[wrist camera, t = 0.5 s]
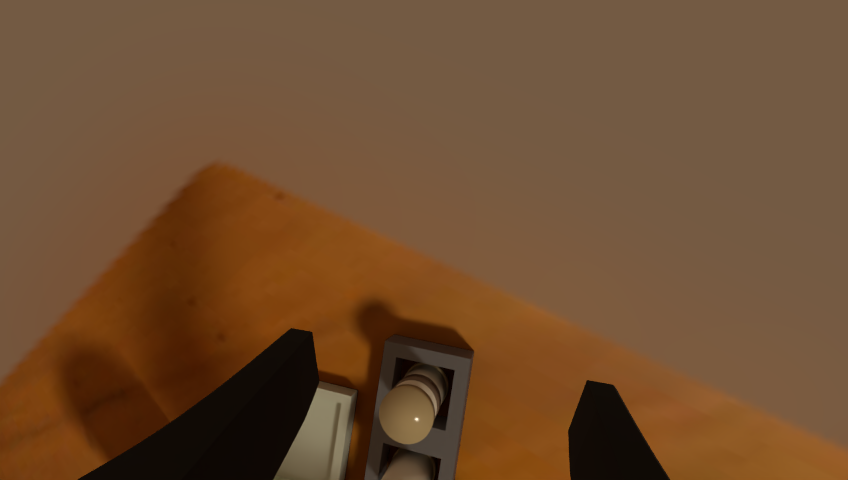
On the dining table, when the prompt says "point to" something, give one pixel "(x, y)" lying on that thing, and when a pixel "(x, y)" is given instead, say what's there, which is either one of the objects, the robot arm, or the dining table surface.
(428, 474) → the cylinder
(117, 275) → the dining table surface
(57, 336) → the dining table surface
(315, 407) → the parts tray
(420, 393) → the fuse
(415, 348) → the block
